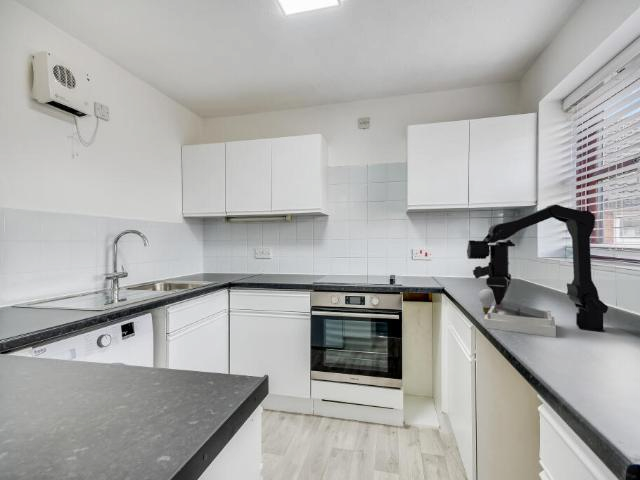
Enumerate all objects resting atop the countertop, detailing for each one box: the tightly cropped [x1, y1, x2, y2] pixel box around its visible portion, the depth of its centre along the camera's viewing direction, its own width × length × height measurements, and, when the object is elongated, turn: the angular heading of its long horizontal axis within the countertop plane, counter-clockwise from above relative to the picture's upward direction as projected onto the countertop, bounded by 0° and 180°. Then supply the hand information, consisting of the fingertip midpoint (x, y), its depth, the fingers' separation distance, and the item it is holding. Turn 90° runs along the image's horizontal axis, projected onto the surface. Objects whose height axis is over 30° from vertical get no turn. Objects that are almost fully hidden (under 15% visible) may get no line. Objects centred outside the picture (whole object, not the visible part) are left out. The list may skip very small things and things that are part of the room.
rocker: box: [494, 299, 545, 319], centre depth 111 cm, size 14×12×1 cm
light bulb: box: [478, 288, 495, 315], centre depth 130 cm, size 6×6×10 cm
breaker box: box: [483, 305, 557, 338], centre depth 111 cm, size 20×16×5 cm
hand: (499, 302), depth 115 cm, fingers open, 9 cm apart
